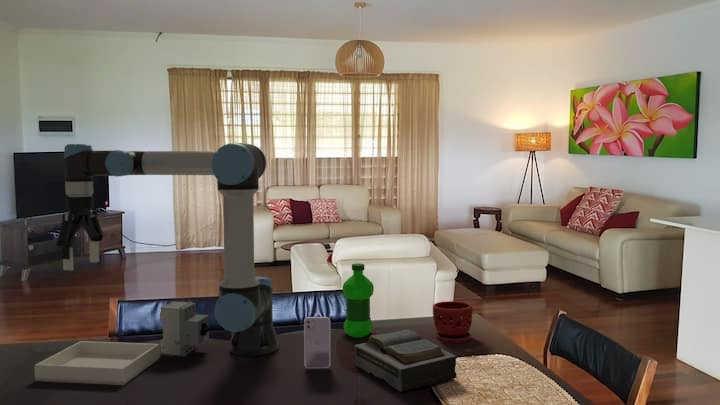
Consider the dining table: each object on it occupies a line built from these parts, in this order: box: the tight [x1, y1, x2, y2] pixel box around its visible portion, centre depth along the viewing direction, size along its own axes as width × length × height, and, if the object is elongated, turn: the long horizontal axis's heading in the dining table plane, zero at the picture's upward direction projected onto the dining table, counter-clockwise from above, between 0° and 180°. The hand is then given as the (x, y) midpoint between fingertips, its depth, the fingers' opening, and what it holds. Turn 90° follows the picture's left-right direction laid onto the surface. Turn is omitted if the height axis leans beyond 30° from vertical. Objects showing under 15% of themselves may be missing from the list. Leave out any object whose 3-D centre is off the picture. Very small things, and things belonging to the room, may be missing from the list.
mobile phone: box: [303, 316, 331, 369], centre depth 171 cm, size 8×1×15 cm, turn 93°
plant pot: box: [432, 300, 473, 344], centre depth 198 cm, size 13×13×12 cm
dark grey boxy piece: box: [353, 329, 458, 393], centre depth 169 cm, size 23×27×10 cm
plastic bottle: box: [342, 263, 375, 339], centre depth 200 cm, size 10×10×25 cm
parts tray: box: [34, 340, 161, 386], centre depth 170 cm, size 26×22×4 cm
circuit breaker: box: [159, 301, 212, 357], centre depth 184 cm, size 8×14×15 cm, turn 78°
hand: (82, 266), depth 178 cm, fingers open, 13 cm apart
